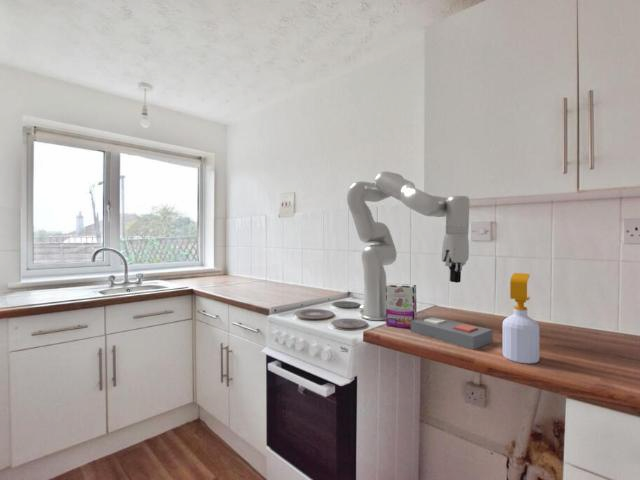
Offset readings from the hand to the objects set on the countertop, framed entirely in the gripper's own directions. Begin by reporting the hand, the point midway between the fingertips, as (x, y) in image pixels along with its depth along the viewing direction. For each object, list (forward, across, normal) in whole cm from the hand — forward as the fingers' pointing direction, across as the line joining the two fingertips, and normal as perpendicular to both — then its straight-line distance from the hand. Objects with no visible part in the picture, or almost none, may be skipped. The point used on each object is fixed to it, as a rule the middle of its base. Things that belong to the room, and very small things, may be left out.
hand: (455, 281), depth 118 cm
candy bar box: (+20, +7, -18) cm, 28 cm away
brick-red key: (+16, +4, +7) cm, 18 cm away
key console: (+19, +4, +1) cm, 19 cm away
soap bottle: (+18, +5, +25) cm, 31 cm away
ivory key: (+17, +4, -5) cm, 18 cm away
